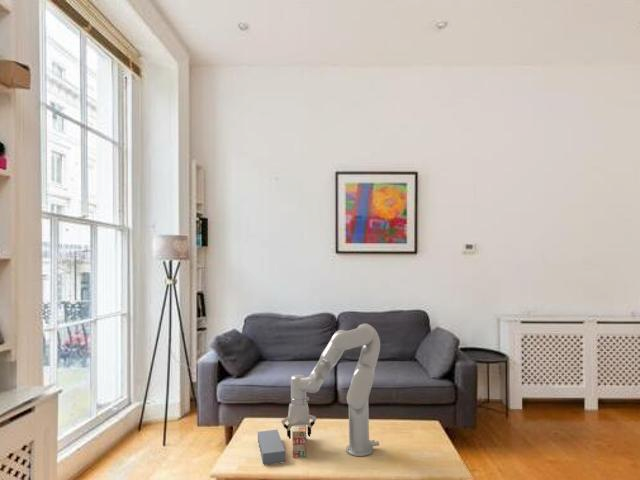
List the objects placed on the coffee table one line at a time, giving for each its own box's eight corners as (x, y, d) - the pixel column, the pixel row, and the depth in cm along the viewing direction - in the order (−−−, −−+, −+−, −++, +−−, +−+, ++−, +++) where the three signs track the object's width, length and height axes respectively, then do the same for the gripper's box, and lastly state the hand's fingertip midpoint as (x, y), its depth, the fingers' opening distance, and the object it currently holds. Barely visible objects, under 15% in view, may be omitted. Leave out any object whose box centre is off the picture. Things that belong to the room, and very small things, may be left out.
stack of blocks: (294, 439, 220) (293, 414, 221) (306, 438, 220) (306, 414, 221) (292, 458, 199) (292, 430, 199) (306, 457, 199) (305, 430, 199)
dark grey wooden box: (277, 439, 220) (277, 429, 220) (285, 462, 194) (285, 450, 195) (257, 441, 217) (257, 431, 217) (263, 465, 192) (262, 453, 192)
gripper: (314, 397, 216) (314, 431, 215) (280, 400, 212) (280, 435, 211) (317, 401, 209) (318, 437, 208) (282, 405, 205) (282, 441, 204)
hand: (299, 436), depth 209 cm, fingers open, 9 cm apart
